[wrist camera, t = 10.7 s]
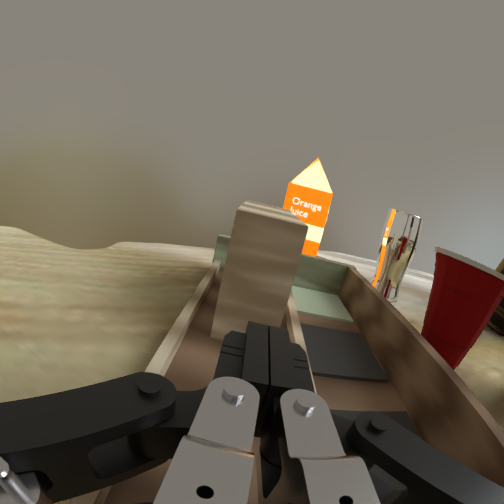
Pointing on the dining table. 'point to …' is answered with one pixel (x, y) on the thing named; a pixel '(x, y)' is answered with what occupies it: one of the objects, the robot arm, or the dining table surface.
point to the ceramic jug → (498, 309)
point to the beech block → (258, 268)
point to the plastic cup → (460, 304)
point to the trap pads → (350, 373)
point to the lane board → (330, 389)
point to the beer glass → (396, 251)
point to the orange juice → (310, 203)
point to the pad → (320, 304)
